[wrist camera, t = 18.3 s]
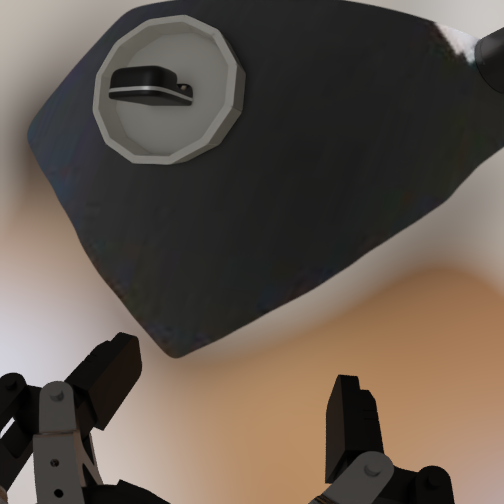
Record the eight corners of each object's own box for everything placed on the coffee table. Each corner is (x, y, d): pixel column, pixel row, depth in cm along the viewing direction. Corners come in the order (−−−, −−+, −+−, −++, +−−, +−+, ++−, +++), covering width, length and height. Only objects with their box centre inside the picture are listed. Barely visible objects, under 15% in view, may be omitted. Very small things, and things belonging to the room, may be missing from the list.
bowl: (250, 26, 33) (243, 11, 28) (237, 165, 40) (227, 168, 35) (123, 37, 36) (103, 29, 31) (111, 159, 43) (90, 162, 38)
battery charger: (197, 79, 36) (160, 60, 26) (194, 106, 38) (155, 95, 27) (151, 80, 37) (105, 66, 26) (148, 106, 38) (100, 98, 28)
